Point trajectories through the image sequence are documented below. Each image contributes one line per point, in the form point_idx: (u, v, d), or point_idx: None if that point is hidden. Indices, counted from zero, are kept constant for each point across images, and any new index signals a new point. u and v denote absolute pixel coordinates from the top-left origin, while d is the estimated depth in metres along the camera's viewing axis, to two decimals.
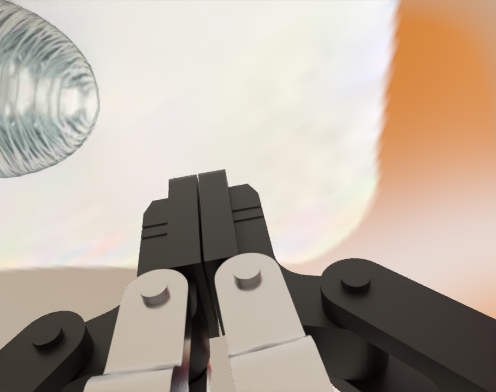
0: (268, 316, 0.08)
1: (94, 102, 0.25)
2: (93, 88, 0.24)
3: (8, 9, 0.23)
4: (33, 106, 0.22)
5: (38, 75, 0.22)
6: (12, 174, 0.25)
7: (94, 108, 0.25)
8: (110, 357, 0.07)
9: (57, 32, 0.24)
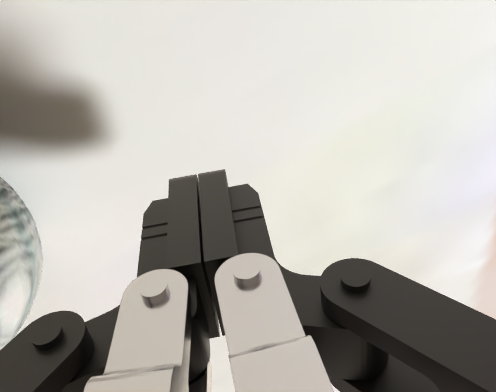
0: (269, 315, 0.08)
1: (19, 297, 0.13)
2: (16, 272, 0.13)
3: None
4: None
5: None
6: None
7: (20, 306, 0.13)
8: (110, 357, 0.07)
9: None
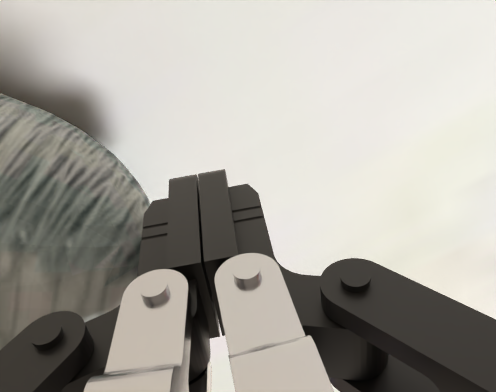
0: (268, 315, 0.08)
1: None
2: None
3: (0, 119, 0.12)
4: None
5: (60, 269, 0.10)
6: None
7: None
8: (110, 358, 0.07)
9: (94, 154, 0.13)
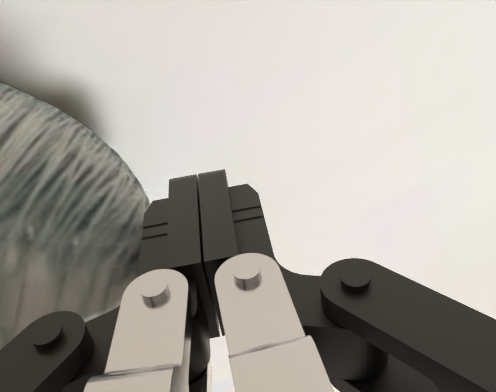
0: (268, 316, 0.08)
1: None
2: None
3: (9, 112, 0.11)
4: None
5: (65, 267, 0.10)
6: None
7: None
8: (111, 357, 0.07)
9: (101, 153, 0.13)
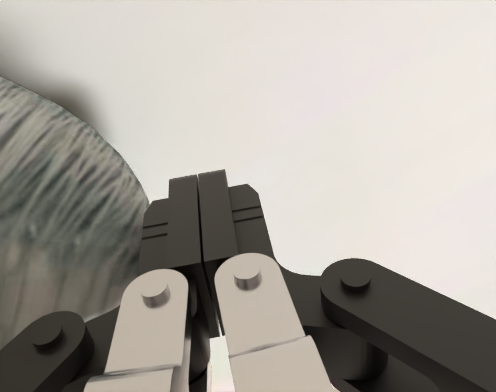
0: (268, 316, 0.08)
1: None
2: None
3: (15, 109, 0.11)
4: None
5: (67, 266, 0.10)
6: None
7: None
8: (110, 357, 0.07)
9: (104, 153, 0.13)
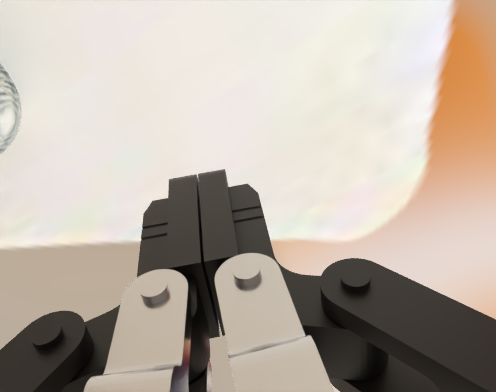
0: (269, 315, 0.08)
1: (9, 119, 0.27)
2: (10, 106, 0.27)
3: None
4: None
5: None
6: None
7: (9, 124, 0.27)
8: (111, 358, 0.07)
9: None
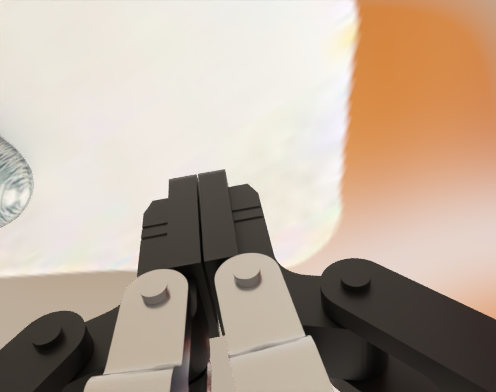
0: (269, 316, 0.08)
1: (26, 195, 0.39)
2: (27, 186, 0.39)
3: None
4: None
5: None
6: None
7: (26, 198, 0.39)
8: (110, 357, 0.07)
9: (7, 150, 0.38)
